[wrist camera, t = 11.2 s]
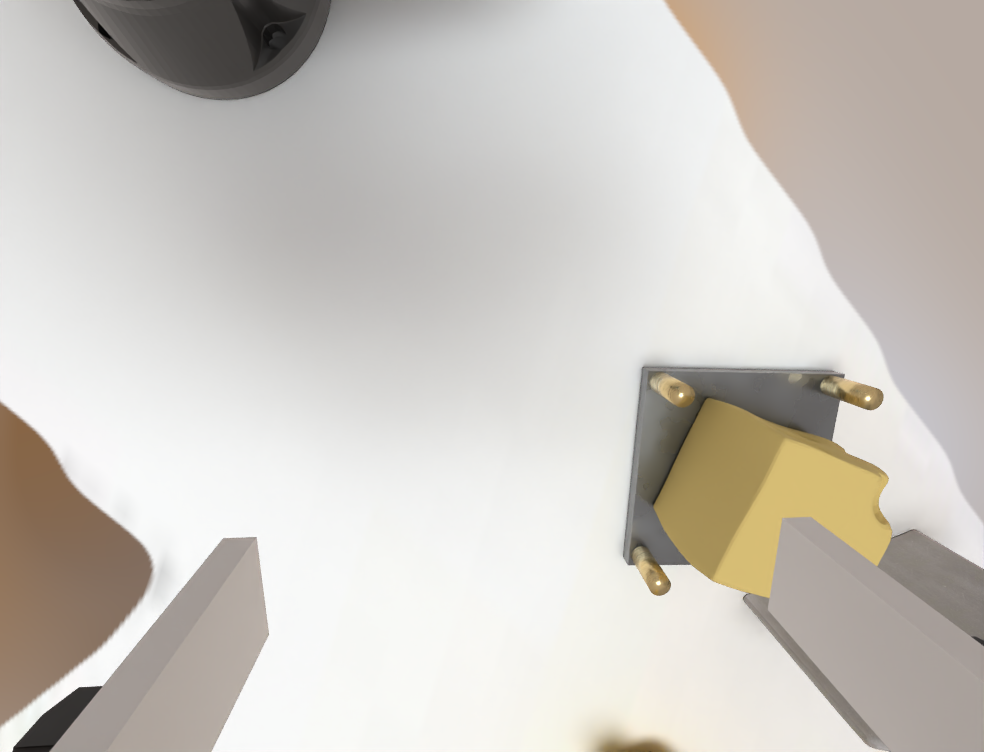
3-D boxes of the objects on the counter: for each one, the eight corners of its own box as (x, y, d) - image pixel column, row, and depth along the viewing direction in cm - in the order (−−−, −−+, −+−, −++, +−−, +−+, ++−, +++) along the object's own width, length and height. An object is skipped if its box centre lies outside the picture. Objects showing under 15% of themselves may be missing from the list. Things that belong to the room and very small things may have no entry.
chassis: (642, 367, 38) (670, 382, 33) (833, 371, 39) (888, 386, 34) (623, 556, 42) (645, 597, 37) (798, 555, 43) (843, 594, 38)
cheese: (815, 433, 39) (933, 488, 30) (753, 548, 41) (844, 636, 31) (701, 388, 38) (786, 432, 28) (642, 510, 40) (702, 590, 30)
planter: (763, 664, 45) (980, 948, 27) (741, 595, 44) (956, 847, 25) (931, 599, 45) (1270, 840, 26) (916, 527, 43) (1268, 730, 24)
